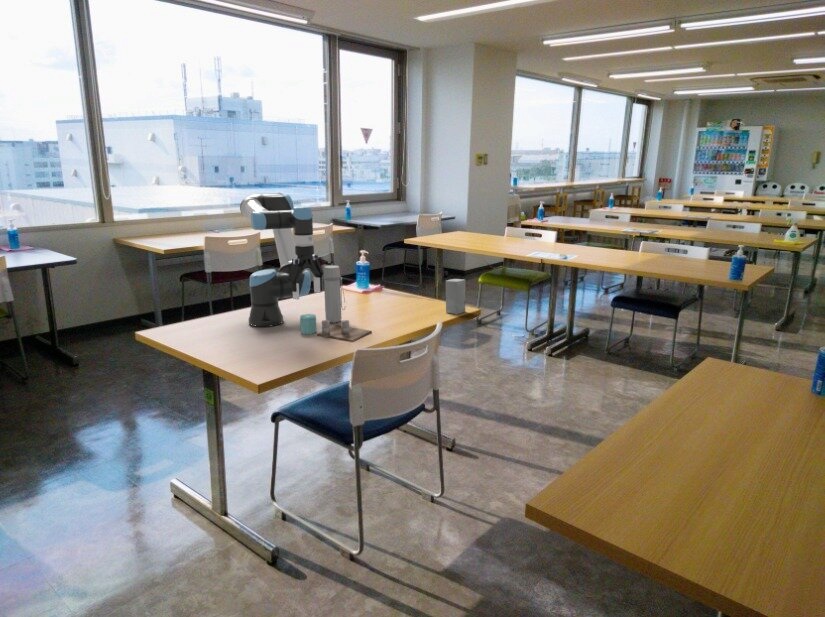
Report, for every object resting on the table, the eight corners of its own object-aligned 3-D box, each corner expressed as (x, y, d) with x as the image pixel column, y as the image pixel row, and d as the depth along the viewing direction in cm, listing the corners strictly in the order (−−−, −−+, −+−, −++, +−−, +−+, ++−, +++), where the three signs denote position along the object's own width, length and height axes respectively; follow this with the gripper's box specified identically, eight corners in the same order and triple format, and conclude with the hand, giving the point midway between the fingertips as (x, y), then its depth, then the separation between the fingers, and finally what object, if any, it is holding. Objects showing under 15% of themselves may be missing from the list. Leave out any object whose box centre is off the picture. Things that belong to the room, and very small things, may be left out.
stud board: (316, 335, 231) (315, 320, 229) (337, 326, 243) (336, 312, 242) (351, 342, 222) (351, 326, 221) (371, 332, 235) (371, 318, 233)
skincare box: (456, 315, 261) (457, 282, 257) (444, 312, 265) (444, 280, 261) (466, 311, 268) (467, 279, 264) (453, 309, 272) (454, 277, 268)
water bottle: (326, 324, 247) (324, 268, 241) (324, 319, 255) (322, 265, 248) (347, 322, 250) (345, 267, 243) (344, 317, 257) (342, 264, 250)
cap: (297, 332, 235) (297, 316, 233) (307, 328, 240) (306, 313, 238) (309, 335, 232) (309, 318, 230) (319, 331, 237) (318, 315, 235)
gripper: (290, 249, 214) (294, 303, 220) (330, 241, 235) (332, 290, 241) (276, 248, 218) (279, 301, 223) (316, 240, 239) (318, 289, 244)
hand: (307, 295), depth 232 cm, fingers open, 13 cm apart
